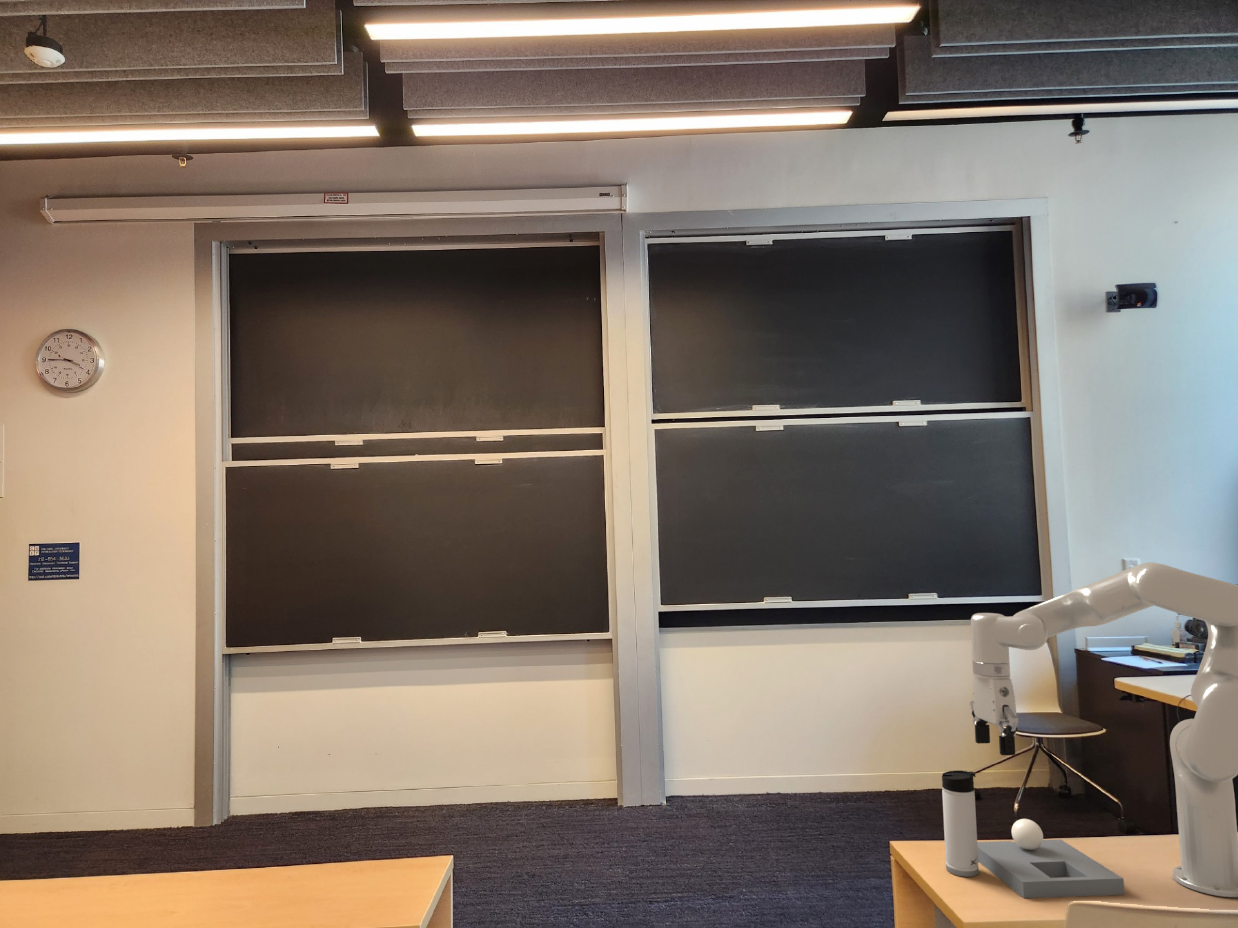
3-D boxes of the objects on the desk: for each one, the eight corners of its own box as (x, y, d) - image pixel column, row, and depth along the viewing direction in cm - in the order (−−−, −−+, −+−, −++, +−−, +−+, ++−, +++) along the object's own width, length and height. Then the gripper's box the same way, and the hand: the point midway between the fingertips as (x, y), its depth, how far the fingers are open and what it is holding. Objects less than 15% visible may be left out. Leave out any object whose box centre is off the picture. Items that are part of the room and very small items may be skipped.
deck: (1061, 853, 173) (1060, 839, 173) (1124, 894, 153) (1123, 878, 153) (972, 856, 172) (971, 842, 172) (1023, 898, 152) (1022, 881, 152)
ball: (1033, 842, 171) (1032, 814, 172) (1050, 853, 165) (1048, 824, 166) (1006, 843, 171) (1005, 814, 172) (1022, 854, 165) (1020, 824, 166)
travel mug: (983, 878, 161) (978, 776, 163) (949, 875, 162) (944, 775, 164) (976, 865, 167) (971, 768, 169) (943, 863, 168) (938, 766, 170)
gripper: (1030, 676, 168) (1034, 759, 167) (986, 663, 185) (989, 738, 184) (996, 676, 167) (1000, 760, 166) (955, 663, 185) (958, 739, 183)
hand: (994, 748), depth 175 cm, fingers open, 9 cm apart
